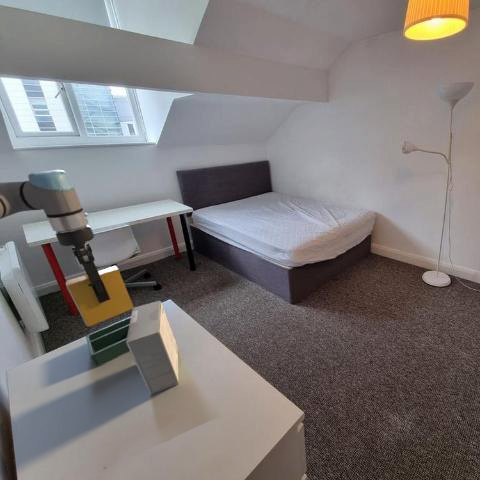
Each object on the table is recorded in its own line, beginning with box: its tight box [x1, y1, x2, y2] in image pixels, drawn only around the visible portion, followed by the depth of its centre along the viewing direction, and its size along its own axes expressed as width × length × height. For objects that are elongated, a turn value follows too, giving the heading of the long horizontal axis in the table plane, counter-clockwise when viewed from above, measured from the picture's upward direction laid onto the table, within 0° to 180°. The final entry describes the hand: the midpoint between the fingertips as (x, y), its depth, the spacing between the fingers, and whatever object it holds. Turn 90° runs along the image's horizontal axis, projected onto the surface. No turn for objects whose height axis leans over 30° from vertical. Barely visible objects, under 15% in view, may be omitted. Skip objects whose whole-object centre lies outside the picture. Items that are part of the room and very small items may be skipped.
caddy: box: [85, 316, 131, 368], centre depth 92 cm, size 12×16×5 cm
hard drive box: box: [126, 300, 180, 396], centre depth 78 cm, size 16×8×20 cm, turn 27°
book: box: [65, 265, 135, 327], centre depth 83 cm, size 4×12×15 cm, turn 135°
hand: (103, 297), depth 83 cm, fingers closed on book, 3 cm apart
